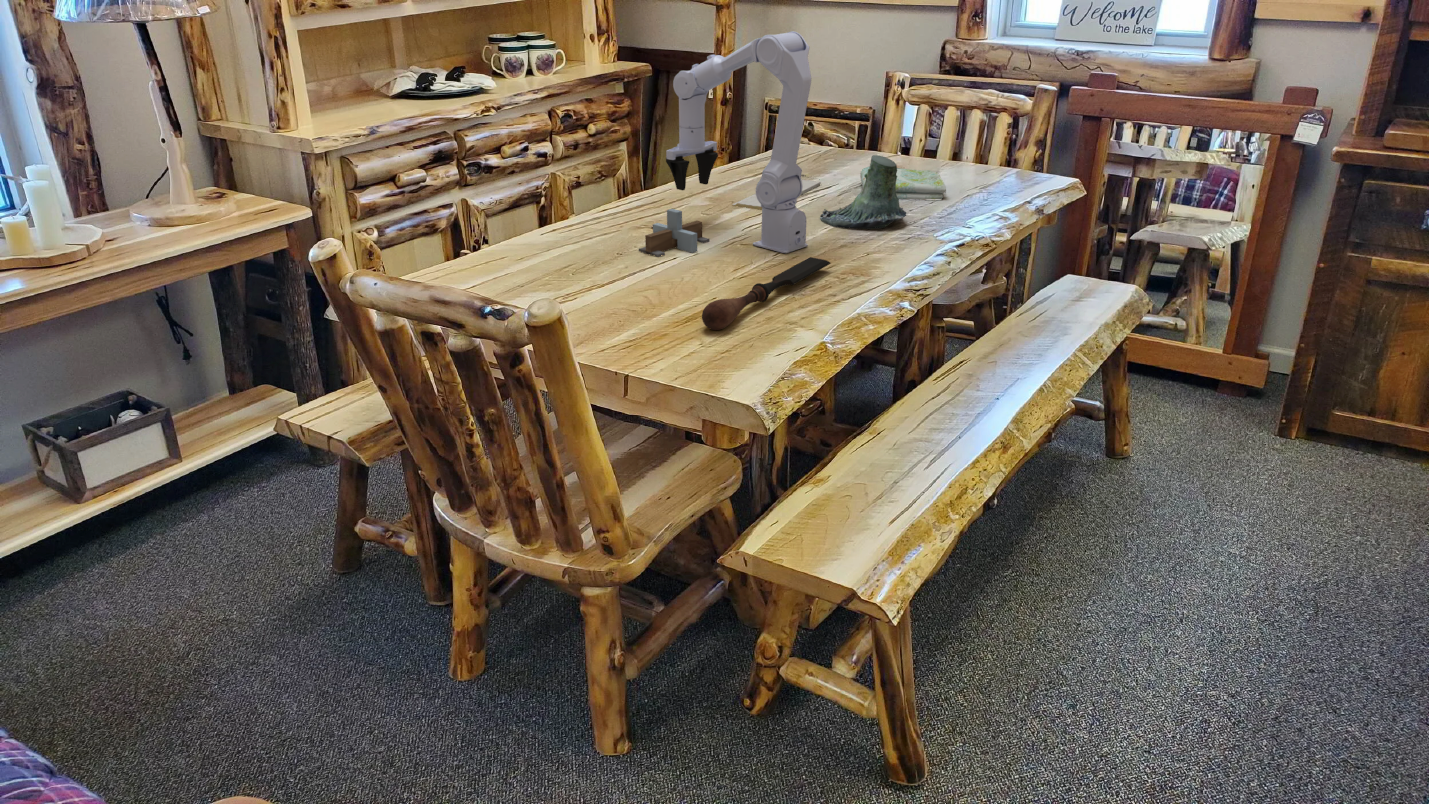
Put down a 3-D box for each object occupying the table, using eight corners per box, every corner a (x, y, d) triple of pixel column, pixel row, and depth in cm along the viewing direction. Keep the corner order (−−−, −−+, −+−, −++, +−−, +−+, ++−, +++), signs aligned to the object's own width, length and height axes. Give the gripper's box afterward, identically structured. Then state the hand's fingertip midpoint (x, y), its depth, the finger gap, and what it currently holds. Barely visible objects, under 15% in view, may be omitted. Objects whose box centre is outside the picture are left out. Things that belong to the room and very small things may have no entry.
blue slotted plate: (697, 251, 220) (697, 214, 217) (692, 252, 219) (691, 216, 216) (658, 240, 228) (657, 205, 224) (653, 241, 227) (652, 206, 223)
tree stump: (839, 207, 256) (861, 138, 247) (910, 239, 248) (935, 169, 239) (805, 220, 241) (827, 147, 232) (879, 254, 234) (905, 180, 225)
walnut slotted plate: (709, 241, 227) (709, 223, 225) (658, 257, 216) (657, 238, 215) (690, 236, 231) (690, 218, 229) (638, 251, 220) (638, 233, 218)
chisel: (695, 331, 178) (695, 304, 176) (809, 267, 211) (810, 244, 208) (719, 337, 176) (720, 309, 173) (831, 272, 208) (832, 248, 206)
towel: (947, 202, 261) (949, 182, 259) (863, 200, 262) (864, 180, 260) (937, 185, 277) (939, 166, 275) (858, 184, 278) (860, 165, 276)
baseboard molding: (726, 207, 256) (769, 214, 251) (726, 196, 255) (769, 202, 250) (780, 182, 281) (820, 187, 275) (780, 171, 279) (821, 176, 274)
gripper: (701, 119, 235) (701, 178, 241) (656, 128, 226) (657, 189, 231) (723, 123, 231) (723, 183, 237) (678, 132, 221) (679, 194, 227)
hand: (692, 186), depth 234 cm, fingers open, 7 cm apart
